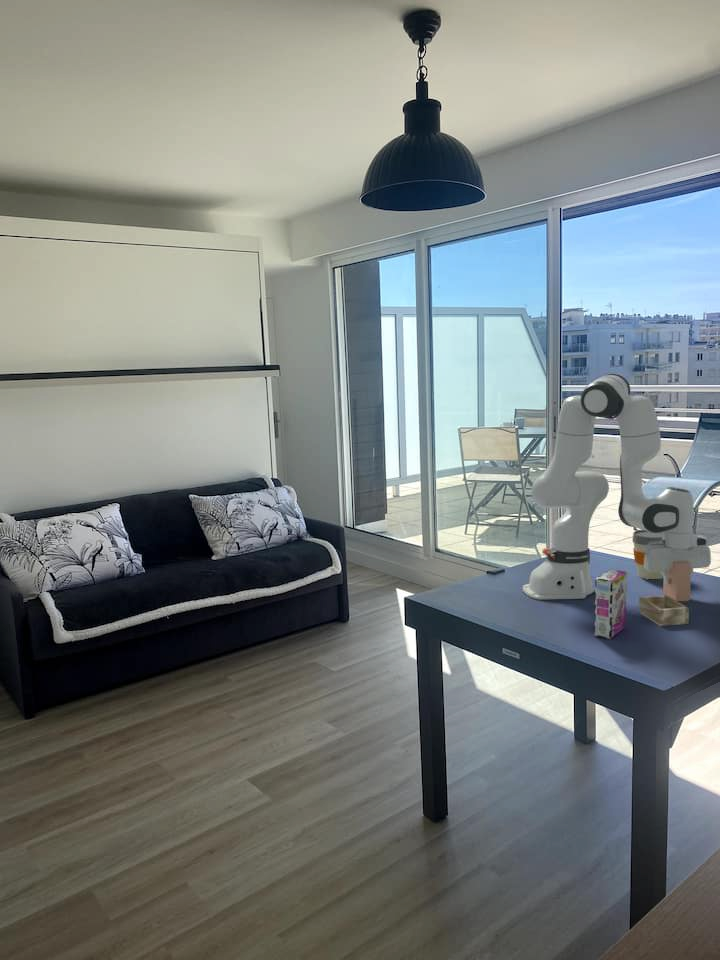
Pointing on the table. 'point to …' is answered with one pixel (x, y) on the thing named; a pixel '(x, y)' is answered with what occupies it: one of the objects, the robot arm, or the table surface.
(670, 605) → the slot holder
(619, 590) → the candy bar box
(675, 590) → the peach block
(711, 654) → the table surface
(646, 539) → the reusable coffee cup
